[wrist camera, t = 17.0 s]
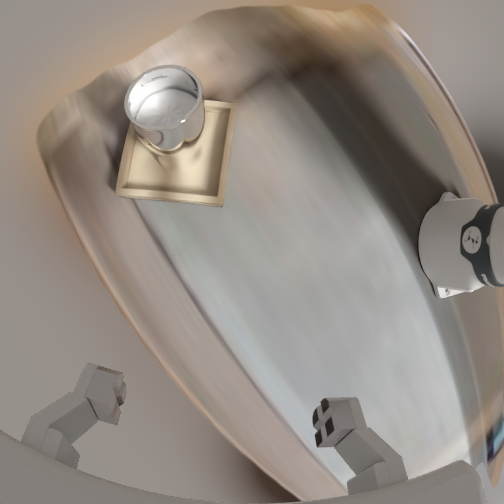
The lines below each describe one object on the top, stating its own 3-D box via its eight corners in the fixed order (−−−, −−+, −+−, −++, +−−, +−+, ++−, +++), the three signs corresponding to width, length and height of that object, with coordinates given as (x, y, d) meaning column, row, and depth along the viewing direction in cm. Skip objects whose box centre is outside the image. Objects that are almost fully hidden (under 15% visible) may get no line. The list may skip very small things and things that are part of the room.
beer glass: (172, 119, 34) (154, 53, 19) (216, 141, 35) (221, 80, 20) (143, 162, 33) (105, 113, 19) (188, 186, 34) (173, 146, 20)
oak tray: (235, 112, 36) (237, 103, 33) (222, 207, 36) (223, 204, 33) (141, 105, 34) (137, 96, 31) (121, 197, 34) (114, 194, 31)
